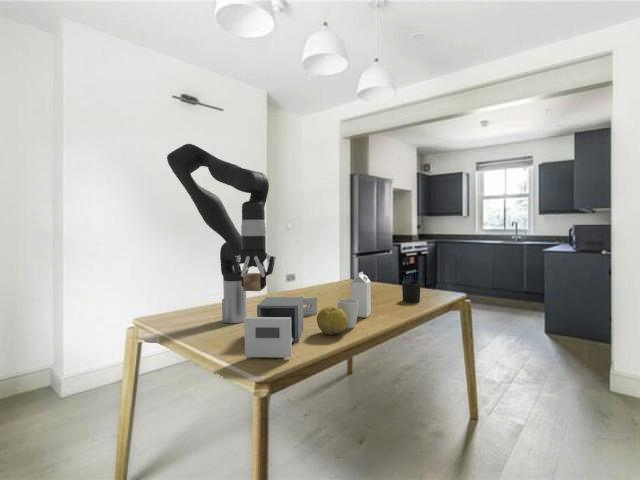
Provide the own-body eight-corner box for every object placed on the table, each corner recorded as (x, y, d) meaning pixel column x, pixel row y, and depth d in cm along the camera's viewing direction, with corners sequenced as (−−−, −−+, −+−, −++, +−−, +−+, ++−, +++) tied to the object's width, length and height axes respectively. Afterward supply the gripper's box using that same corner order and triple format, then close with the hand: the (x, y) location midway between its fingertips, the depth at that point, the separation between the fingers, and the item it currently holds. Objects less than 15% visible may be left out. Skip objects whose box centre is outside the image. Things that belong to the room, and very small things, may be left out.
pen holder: (417, 303, 179) (417, 283, 179) (399, 301, 184) (399, 282, 184) (422, 300, 187) (422, 281, 187) (405, 298, 192) (405, 280, 192)
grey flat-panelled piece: (244, 357, 103) (244, 318, 103) (257, 340, 119) (256, 307, 118) (291, 357, 102) (290, 318, 102) (297, 341, 118) (297, 307, 117)
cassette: (316, 313, 160) (315, 296, 160) (317, 314, 158) (317, 297, 158) (290, 316, 155) (290, 299, 155) (292, 317, 154) (291, 299, 153)
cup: (360, 324, 140) (360, 299, 140) (355, 330, 132) (355, 303, 132) (340, 323, 143) (340, 298, 142) (335, 328, 135) (334, 302, 135)
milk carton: (350, 316, 153) (350, 273, 153) (355, 313, 160) (355, 271, 159) (366, 318, 151) (366, 273, 150) (370, 314, 157) (370, 271, 157)
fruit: (324, 340, 120) (324, 311, 120) (311, 331, 131) (311, 305, 131) (353, 336, 125) (353, 308, 125) (338, 328, 136) (338, 302, 135)
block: (243, 291, 109) (243, 274, 109) (248, 288, 114) (248, 273, 114) (259, 291, 109) (259, 275, 109) (263, 288, 114) (263, 273, 114)
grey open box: (257, 341, 120) (257, 305, 120) (267, 329, 135) (266, 297, 135) (298, 342, 119) (298, 305, 119) (303, 329, 134) (303, 297, 134)
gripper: (227, 234, 108) (227, 290, 109) (272, 234, 107) (273, 290, 107) (235, 234, 116) (236, 286, 116) (278, 234, 114) (279, 286, 115)
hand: (254, 288), depth 112 cm, fingers closed on block, 5 cm apart
